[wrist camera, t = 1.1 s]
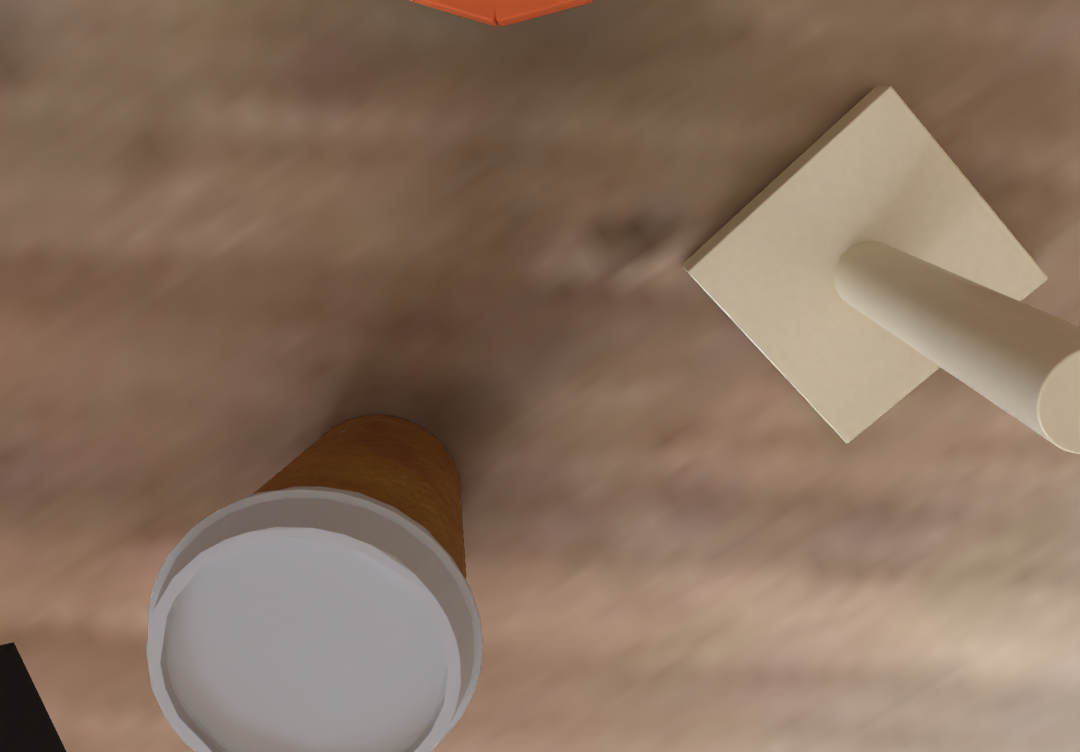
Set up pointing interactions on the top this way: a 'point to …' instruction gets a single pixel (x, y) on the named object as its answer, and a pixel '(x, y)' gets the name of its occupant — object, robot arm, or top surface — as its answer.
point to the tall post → (890, 281)
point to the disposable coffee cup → (323, 604)
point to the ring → (501, 9)
